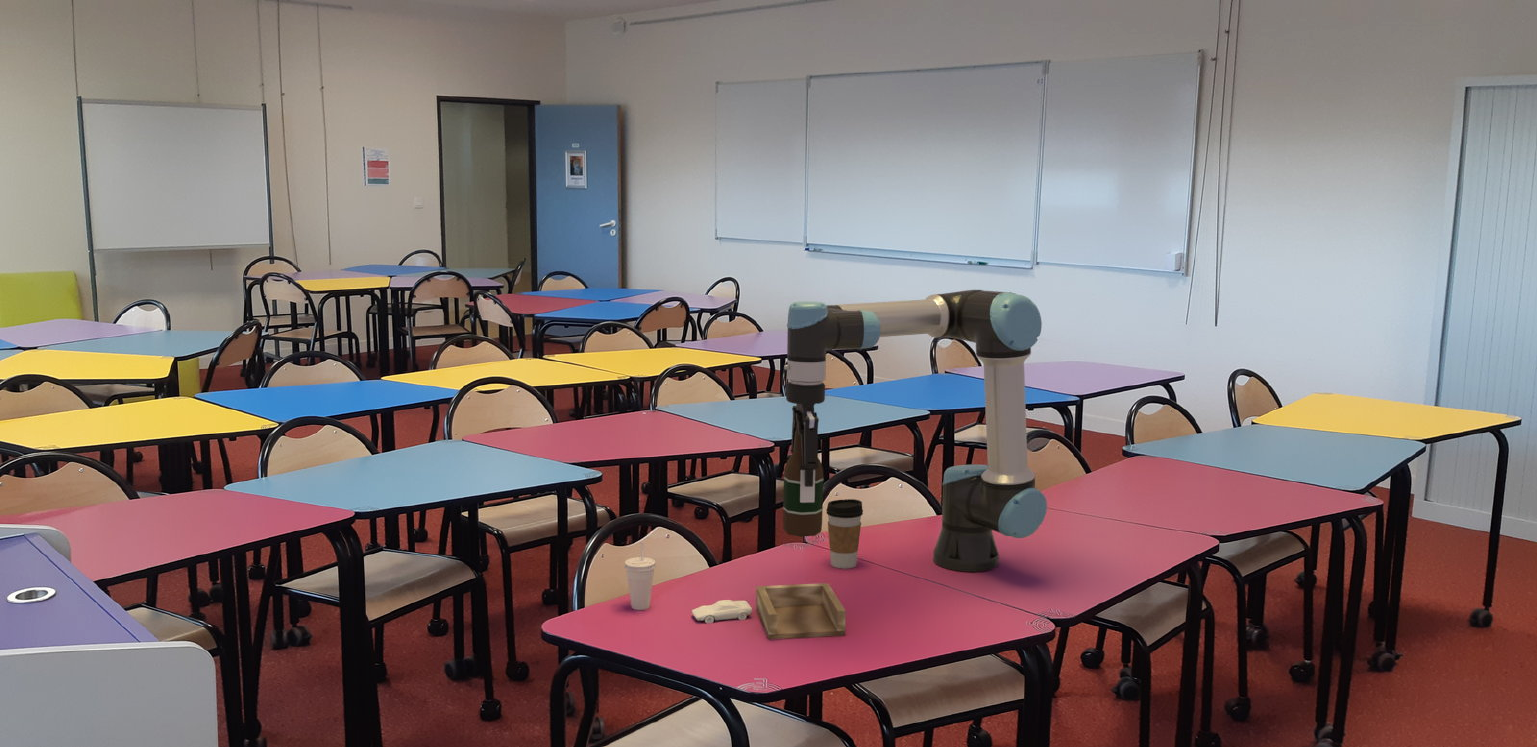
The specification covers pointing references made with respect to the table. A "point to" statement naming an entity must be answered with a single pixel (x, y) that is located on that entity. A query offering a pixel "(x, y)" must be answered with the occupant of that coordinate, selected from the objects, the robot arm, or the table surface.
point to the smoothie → (640, 580)
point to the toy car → (723, 611)
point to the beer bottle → (796, 514)
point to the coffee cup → (844, 531)
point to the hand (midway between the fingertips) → (803, 496)
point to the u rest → (800, 611)
